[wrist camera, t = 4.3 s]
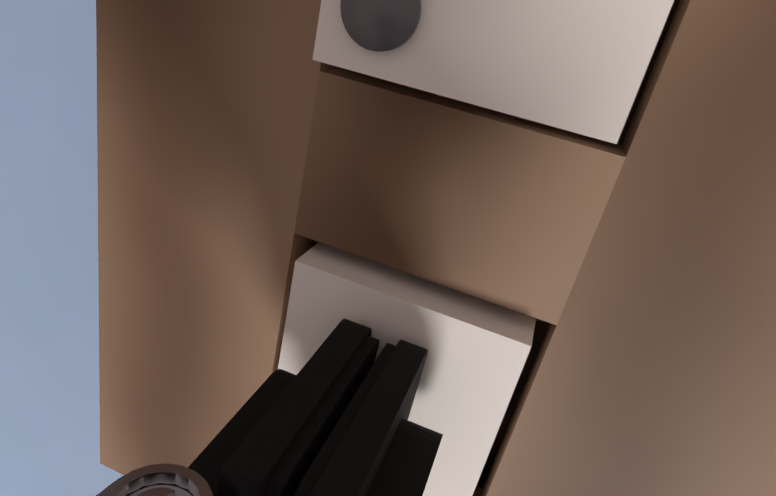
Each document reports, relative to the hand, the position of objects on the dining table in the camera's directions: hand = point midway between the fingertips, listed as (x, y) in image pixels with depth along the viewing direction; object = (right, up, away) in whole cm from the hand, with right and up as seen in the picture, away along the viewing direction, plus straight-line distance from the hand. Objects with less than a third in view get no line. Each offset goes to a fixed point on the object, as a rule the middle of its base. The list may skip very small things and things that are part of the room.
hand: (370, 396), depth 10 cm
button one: (+1, +1, +3) cm, 3 cm away
